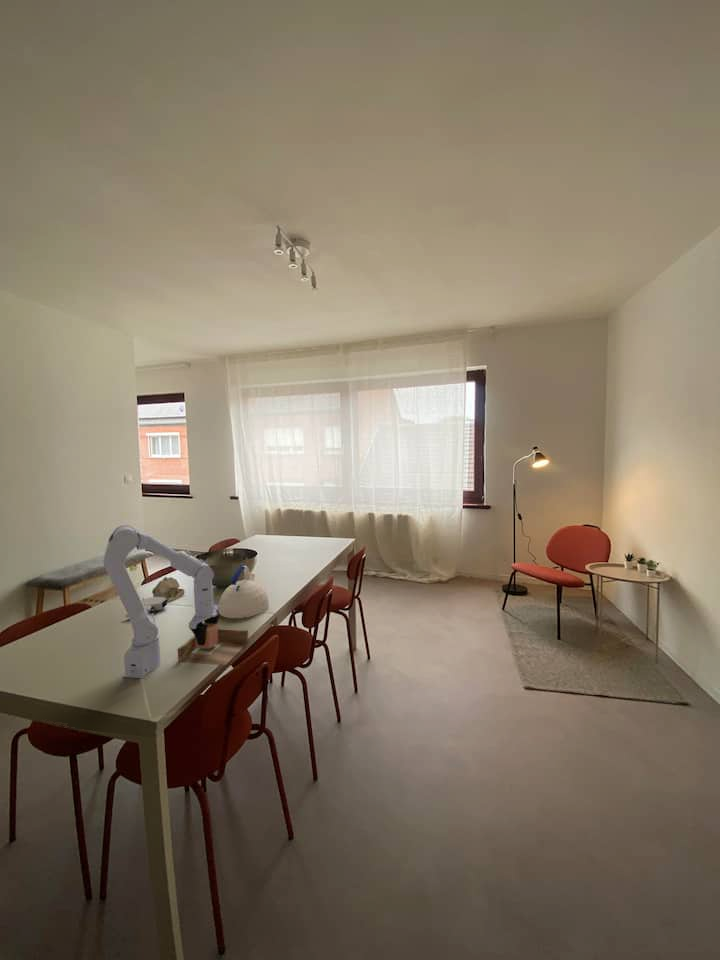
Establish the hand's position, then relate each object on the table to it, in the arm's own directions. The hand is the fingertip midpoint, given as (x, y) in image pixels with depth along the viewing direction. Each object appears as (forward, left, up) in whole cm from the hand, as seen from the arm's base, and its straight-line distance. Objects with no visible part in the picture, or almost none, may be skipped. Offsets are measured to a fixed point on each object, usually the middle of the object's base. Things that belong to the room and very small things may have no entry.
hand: (206, 640), depth 129 cm
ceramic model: (+42, +46, -4) cm, 62 cm away
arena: (-1, -3, -4) cm, 5 cm away
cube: (0, 0, -1) cm, 1 cm away
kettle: (+35, +5, -4) cm, 36 cm away
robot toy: (+26, +43, -4) cm, 50 cm away
